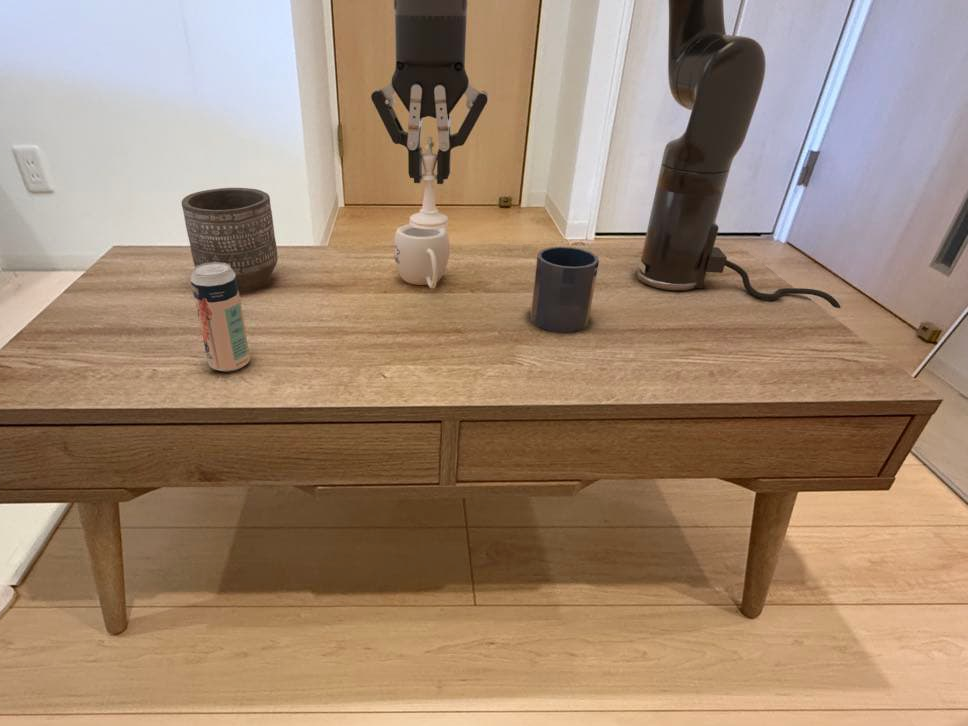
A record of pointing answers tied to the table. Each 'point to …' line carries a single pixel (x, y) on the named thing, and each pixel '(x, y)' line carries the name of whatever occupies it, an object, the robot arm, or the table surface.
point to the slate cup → (563, 288)
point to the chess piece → (429, 195)
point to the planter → (233, 233)
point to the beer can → (220, 316)
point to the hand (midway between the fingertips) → (429, 181)
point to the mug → (421, 254)
